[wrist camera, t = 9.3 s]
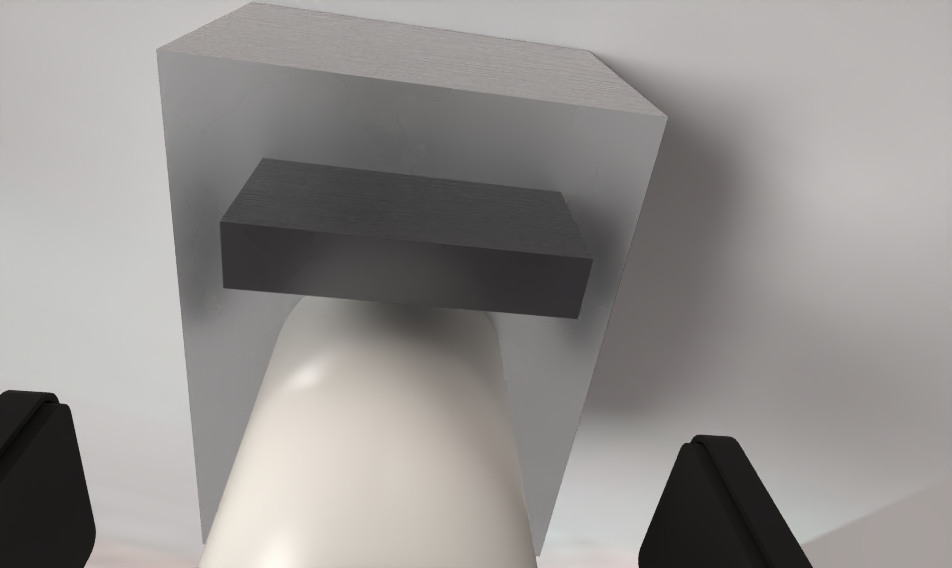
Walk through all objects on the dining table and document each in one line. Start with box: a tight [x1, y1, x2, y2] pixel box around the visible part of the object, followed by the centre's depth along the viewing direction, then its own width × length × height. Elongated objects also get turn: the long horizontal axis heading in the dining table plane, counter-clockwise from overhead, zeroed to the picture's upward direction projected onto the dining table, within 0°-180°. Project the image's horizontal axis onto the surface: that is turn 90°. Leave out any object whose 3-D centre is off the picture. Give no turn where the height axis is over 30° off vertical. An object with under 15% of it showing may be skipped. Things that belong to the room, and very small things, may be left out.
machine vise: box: [156, 2, 668, 556], centre depth 15 cm, size 13×8×8 cm, turn 172°
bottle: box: [197, 296, 537, 568], centre depth 10 cm, size 4×4×7 cm
